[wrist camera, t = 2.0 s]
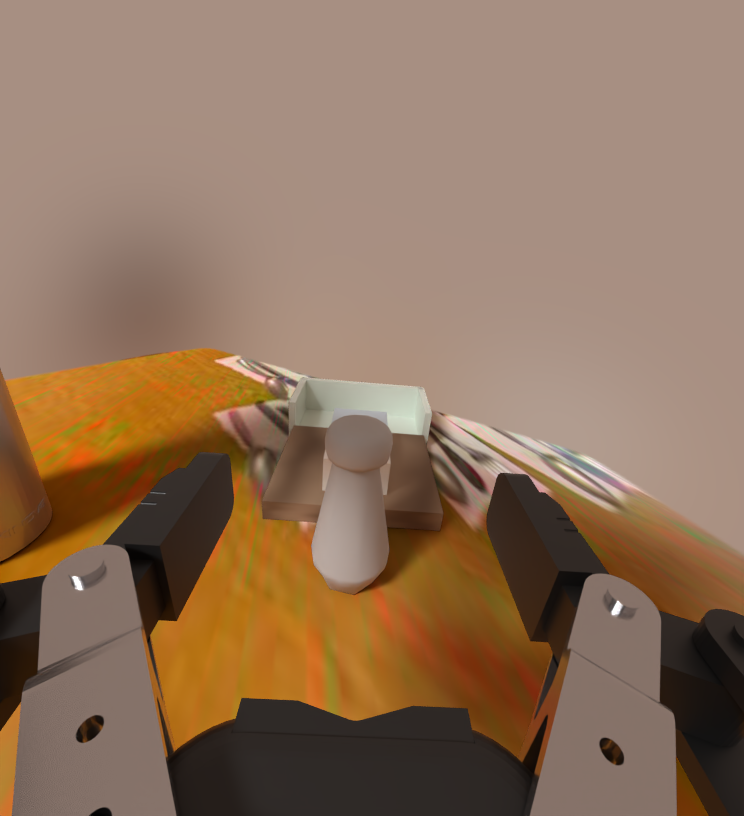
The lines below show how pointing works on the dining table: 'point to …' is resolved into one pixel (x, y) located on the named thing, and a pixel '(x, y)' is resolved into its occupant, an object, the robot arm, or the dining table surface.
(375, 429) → the salt shaker
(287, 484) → the board
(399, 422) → the tray
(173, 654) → the dining table surface
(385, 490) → the beige block
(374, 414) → the pale grey block
